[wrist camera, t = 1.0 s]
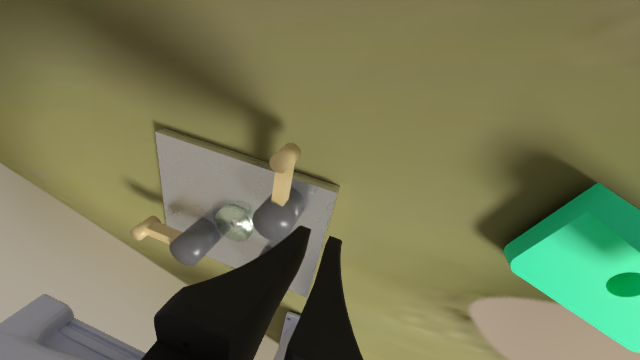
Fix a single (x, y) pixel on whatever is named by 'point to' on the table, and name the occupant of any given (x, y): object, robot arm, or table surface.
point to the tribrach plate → (236, 200)
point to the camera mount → (587, 261)
